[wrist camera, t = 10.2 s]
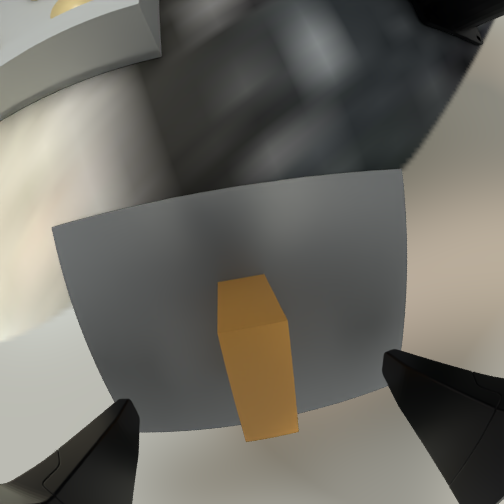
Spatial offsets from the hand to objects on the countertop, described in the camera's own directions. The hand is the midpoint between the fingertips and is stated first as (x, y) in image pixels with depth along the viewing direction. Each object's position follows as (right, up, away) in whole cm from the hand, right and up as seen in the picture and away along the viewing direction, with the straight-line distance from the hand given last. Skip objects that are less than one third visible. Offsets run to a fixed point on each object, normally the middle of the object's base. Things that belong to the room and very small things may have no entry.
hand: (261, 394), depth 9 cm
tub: (-13, +18, -1) cm, 22 cm away
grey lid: (0, +1, +5) cm, 5 cm away
